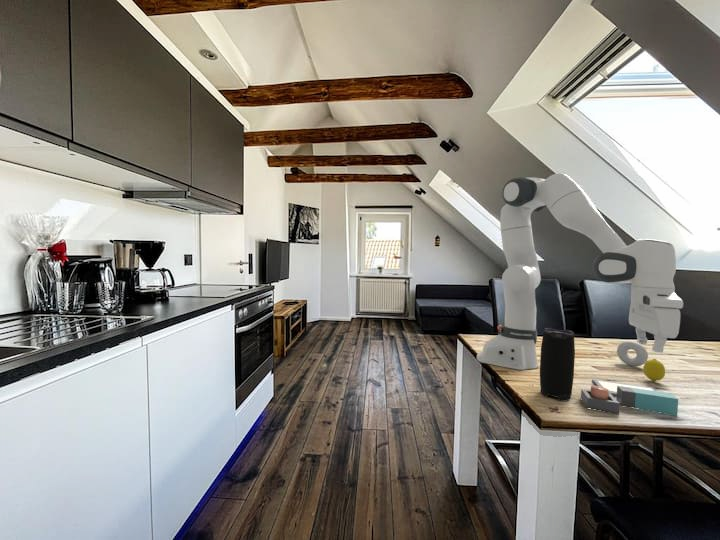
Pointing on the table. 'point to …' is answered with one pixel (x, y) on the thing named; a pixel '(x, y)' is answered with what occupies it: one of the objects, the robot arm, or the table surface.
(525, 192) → the robot arm
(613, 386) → the drawing board
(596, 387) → the button
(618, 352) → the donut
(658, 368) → the lemon
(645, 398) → the marker
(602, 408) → the button housing
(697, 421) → the table surface
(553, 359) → the portable speaker
